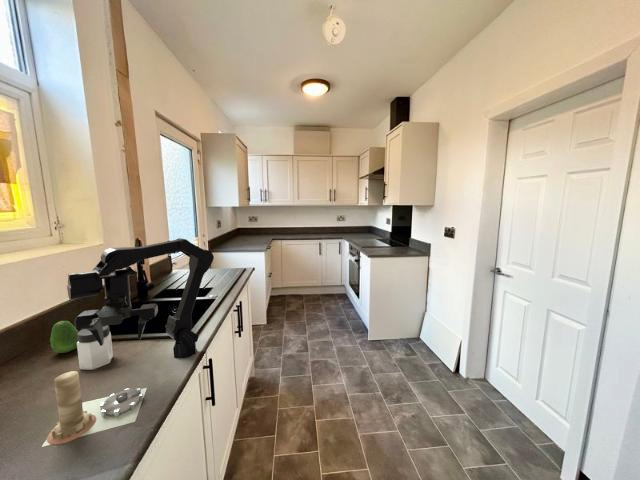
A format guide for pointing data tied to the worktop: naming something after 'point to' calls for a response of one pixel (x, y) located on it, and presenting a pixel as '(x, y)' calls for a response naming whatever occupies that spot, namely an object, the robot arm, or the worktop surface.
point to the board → (98, 420)
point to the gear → (121, 402)
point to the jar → (94, 349)
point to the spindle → (69, 407)
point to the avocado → (63, 337)
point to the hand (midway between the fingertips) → (121, 342)
